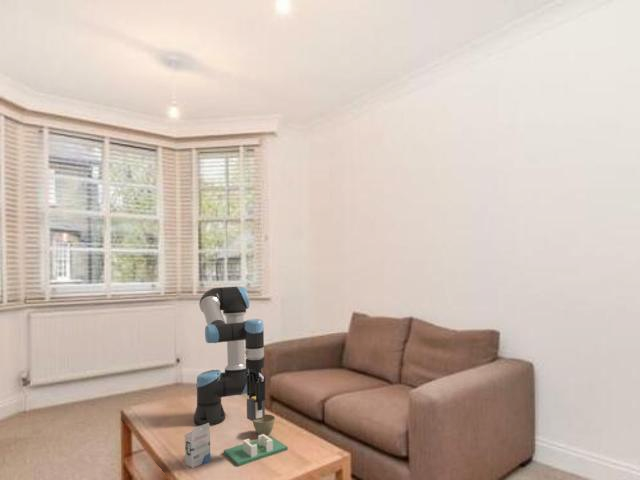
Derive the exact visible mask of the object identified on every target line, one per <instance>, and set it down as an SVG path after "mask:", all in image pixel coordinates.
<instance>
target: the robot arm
mask: <svg viewBox="0 0 640 480" xmlns="http://www.w3.org/2000/svg"><path fill="white" fill-rule="evenodd" d="M199 308H200V311H201V312H202V314H204V318H205V321H206V322H205V323H206V324H207V325H206V326H205V328H204V338H205V342H206V344H217V343H226V346H227V347H226V349H227V350H226V351H227V356H226V357H227V365H226V366H225V367H224V372H221V370H220V369H210V370H207V371H204V372H201V373H200V374H198V375H197V377H196V386H195V387H196V408H195V412H194V415H193V424H194V425H195V426H201V425H204V424H206V423H209V427H210V426H215V425H218V424H219V425H220V424H221V423H223V422H224V421H225V420H226V412H225V410H224V407H223V404H222V398H227V397H231V396H232V397H233V396H242V395H246V396H248V399H249V398H251V397H254V396H256V401H255V418H256V419H257V418H261V417H262V401H266V379H267V378H266V376H265V375H263V371H262V369H264V367H265V358H264V357H265V345H264V343H265V341H264V337H265V336H264V334H265V333H264V329H265V327H264V321H263V319H259V318H258V319H257V318H254V319H253V318H252V319H247V320H244V316H245V314H246V313H247V310H248V309H249V308H250V298H249V294H248V290H247V289H246V288H245V287H244V286H224V287H222V286H221V287H213V288H211V289H209V290H207V291H206V292H204V293H203V294H202V296H201V297H200V300H199ZM224 316H225V318H226V321H225V318H224ZM245 358H246V359H245Z"/></svg>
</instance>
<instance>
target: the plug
mask: <svg viewBox="0 0 640 480" xmlns="http://www.w3.org/2000/svg"><path fill="white" fill-rule="evenodd" d="M255 401H256V396H254V397H251V398H249V397H248V398H246V419H247V420H249V421H250V422H253V420H257V419H261V418H265V414H266V413H265V412H266V410H265V408H266V407H265V405H266V404H265V401H266V400H264V401H262V417H261V418H257V419H256V418H255Z"/></svg>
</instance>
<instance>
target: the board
mask: <svg viewBox="0 0 640 480" xmlns="http://www.w3.org/2000/svg"><path fill="white" fill-rule="evenodd" d="M288 448H289V447H288V446H287V445H286V444H284V443H283V442H281V441H279V440H278V439H276V438H275V437H273V436H272V435H270V436H269V435H268V436H266V435H264V434H262V435H257V439H256V440H252V441H251V439H250V438H247V439H243V440H242V444H240V445H236V446H233V447H229V448H227V449H223V454H224V455H225V456H226V457H227V458H228V459H229V460H231V462H233V463H234V464H235V465H236V466H237V467H240V466H243V465H246V464H249V463H251V462H255V461H258V460H261V459H263V458H267V457H270V456H274V455H276V454H279V453H283V452H284V451H285V452H286V451H288Z"/></svg>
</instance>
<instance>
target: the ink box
mask: <svg viewBox="0 0 640 480" xmlns="http://www.w3.org/2000/svg"><path fill="white" fill-rule="evenodd" d="M184 452H185V454H184V455H185V456H184V457H185V466H188V467H190V468H192V469H194V468H196V467H198V466H200V465H202V464H205V463H207V462H209V461H211V430H210V426H209V423H206V424H204V425H201V426H199V425H197V426H196V427H193V428H191V431H189V432H188V433H185V434H184Z"/></svg>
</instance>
